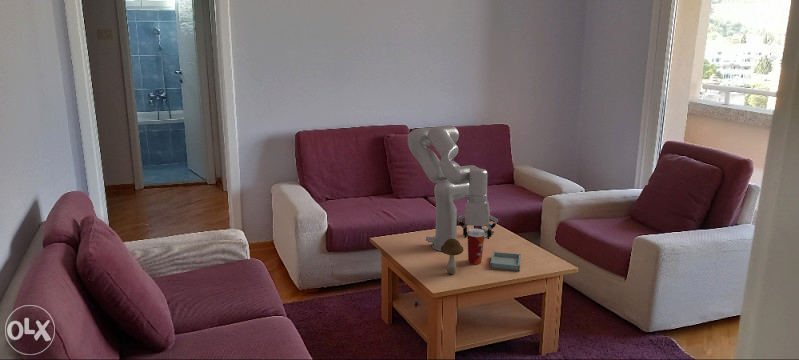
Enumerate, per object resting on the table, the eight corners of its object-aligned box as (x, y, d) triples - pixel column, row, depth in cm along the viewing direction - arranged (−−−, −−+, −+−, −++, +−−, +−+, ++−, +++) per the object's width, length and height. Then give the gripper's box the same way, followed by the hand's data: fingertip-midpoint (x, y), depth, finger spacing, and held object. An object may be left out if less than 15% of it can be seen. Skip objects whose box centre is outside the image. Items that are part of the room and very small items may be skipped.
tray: (490, 268, 244) (490, 263, 243) (492, 256, 257) (492, 251, 256) (519, 271, 241) (519, 265, 240) (520, 259, 254) (520, 253, 254)
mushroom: (462, 268, 244) (463, 234, 240) (462, 279, 233) (464, 243, 229) (440, 267, 244) (441, 233, 241) (439, 278, 233) (440, 242, 230)
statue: (483, 241, 280) (483, 213, 275) (466, 237, 285) (466, 209, 280) (494, 233, 288) (494, 205, 282) (478, 229, 293) (478, 201, 288)
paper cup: (483, 266, 246) (484, 234, 243) (465, 264, 248) (466, 233, 245) (484, 259, 254) (485, 228, 251) (466, 258, 255) (467, 227, 252)
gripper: (456, 199, 242) (455, 239, 246) (498, 201, 239) (497, 241, 242) (458, 195, 250) (457, 233, 253) (499, 197, 246) (498, 236, 249)
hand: (477, 237), depth 248 cm, fingers open, 9 cm apart
